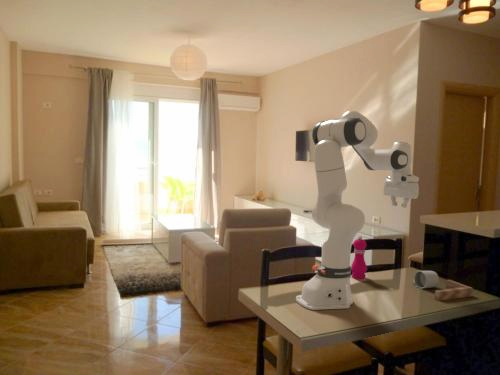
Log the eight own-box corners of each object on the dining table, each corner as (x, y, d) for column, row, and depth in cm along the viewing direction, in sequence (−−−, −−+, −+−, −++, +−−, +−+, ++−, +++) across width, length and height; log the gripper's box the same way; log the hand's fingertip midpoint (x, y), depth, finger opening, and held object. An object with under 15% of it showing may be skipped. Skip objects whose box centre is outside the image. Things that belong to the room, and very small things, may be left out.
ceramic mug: (440, 289, 179) (441, 271, 179) (425, 290, 176) (426, 273, 176) (422, 282, 189) (423, 266, 189) (408, 284, 186) (408, 267, 186)
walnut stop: (438, 300, 164) (438, 292, 164) (416, 291, 175) (417, 283, 175) (472, 296, 170) (472, 287, 170) (449, 287, 181) (449, 279, 181)
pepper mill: (369, 278, 193) (371, 236, 191) (356, 280, 190) (358, 237, 188) (360, 274, 199) (361, 234, 198) (347, 276, 197) (349, 234, 195)
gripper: (380, 176, 200) (379, 204, 201) (410, 178, 181) (409, 209, 182) (391, 176, 202) (390, 203, 203) (421, 178, 183) (420, 209, 184)
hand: (399, 206), depth 192 cm, fingers open, 5 cm apart
